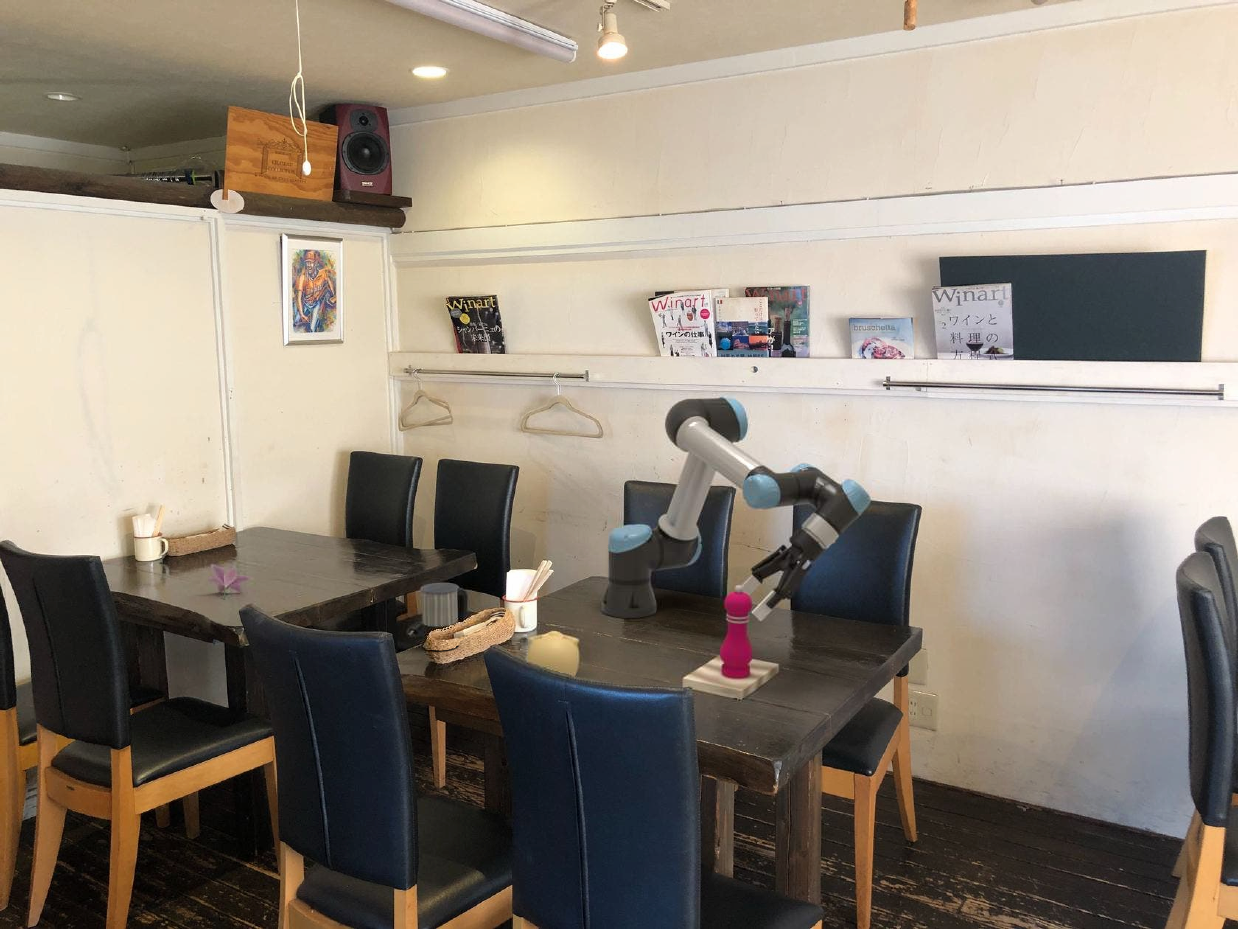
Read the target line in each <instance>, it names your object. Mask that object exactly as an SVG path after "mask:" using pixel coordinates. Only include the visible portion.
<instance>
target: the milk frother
mask: <svg viewBox="0 0 1238 929" xmlns="http://www.w3.org/2000/svg"><path fill="white" fill-rule="evenodd" d="M419 588H420V589H419V590H420V592H421V618H422V620H420V621H417V622H416V623H413V624H412V625H410V626H409V627H408V628H406V629H407V630H406V636H407V637H409V638H410V639H412V640H422V643H421V648H422V649H423V648H424V647H423V645H424V643H425V642H426V639H427V636H428V635H429V633H430V632H431V631H434V630H436V629H443V628H446V627H449V626H450V625H454V624H456V623H458V622H463V621H464V620H466V619H467V620H468V600H469V599H468V598H469V596H468V593H467V591H466V590H465V589H464V588H462V587H460V586H459V585H457V584H456V583H450V582H436V583H435V582H434V583H433V582H432V583H428V584H423V586H421V587H419ZM454 626H455V625H454ZM450 628H452V627H450ZM447 629H449V628H447ZM444 630H446V629H444ZM421 631H422V634H420V633H421ZM441 631H442V630H441Z"/></svg>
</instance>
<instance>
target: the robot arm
mask: <svg viewBox="0 0 1238 929" xmlns="http://www.w3.org/2000/svg"><path fill="white" fill-rule="evenodd" d="M748 419H749V418H748V416H747V411H746V409H745V408H744V406H743V405H742V403H741V402H740V401H739V400H738V399H735V398H732V397H723V396H720V397H714V398H712V397H711V398H708V397H707V398H685V399H682V400H680V401H678V402H676V403H674V404H673V405H672V406H671V408H670V409H669V411H668V412H667V414H666V417H665V420H664V421H665V422H664V429H665V433H666V436H667V437H668V439H669V440H670V442H671V443H672V444H673V445H674V446H675V447H677V448H678V449H679V450H681V451H682V452H683V453H684V452H685V453H687V456H686V459H685V463H684V465H683V466H682V467H683V468H682V470H681V473H680V475H679V478H678V482H677V484H676V487H675V489H674V493H673V496H672V499H671V502H670V504H669V506H668V510H667V512H666V513H665V514H662V515H661V516H660V517H659V519H658V521H657V524H656V527H655V528H651V527H650V525H647V524H640V523H637V524H626V525H623V526H619V527H616V528H614V529H613V530H611V532H610V533H609V536H608V545H607V550H608V579H607V580H608V583H607V586H606V589H605V593H604V595H603V598H602V602H601V612H602V613H604V614H605V615H607V616H610V617H614V618H623V619H638V618H639V619H640V618H645V617H650V616H653V615H655V614H656V612H657V601H656V598H655V594H654V590H653V587H652V584H651V579H652V578H651V576H652V574H651V573H652V572H655V571H662V570H670V569H680V568H684V567H688V566H691V565H692V564H694V563H695V562H696V561H697V560H698V559H699V557H700V555H701V552H702V547H703V545H702V544H701V542H702V536H701V533H700V530H699V527H698V525H697V522H698V521H699V517H700V515H701V512H702V510H703V506H704V504H705V501H706V499H707V496H708V493H709V491H710V489H711V485H712V482H713V480H714V479H715V478H714V477H715V475H716V473H719V474H720V475H722V476H723V477H724V478H725V479H727V480H728V481H729V482H731V483H732V484H734V485H735V486H736V487H738V489H740V490H742V496H743V499H744V500H745V502H746V505H747V506H748V507H750V508H751V509H753V510H755V509H756V510H760V509H762V510H769V509H775V508H782V507H789V506H790V507H792V506H801V505H810V506H811V507H813V508H814V509H816V510H815V511H814V512H813V513H812V514H811V515H810V516H809V517H808V518H807V519H806V520H805V521H804V522H803V523H802V524H801V527H802V528H798V529H796V531H795V532H794V533H793V534H792V535H791V536H790V537H789V539H788V542H789V543H790V544H791V545H790V547H787V546H786V545H785V544H782V545H780V547H779V548H777V550H776V551H774V552H773V553H770V555H768V556H767V557H766V558H764V559H762V560H761V561H760V562H758V563H756V564H755V565H753V567H751V569H750V570H751V571H752V572H751V575H750V576H749V577H748V578H747V579H746V580H745V581H744V582H743V583H742V584H740V585H741V586H742V587H743V591H742V592H744V593H746V594H748V595H749V596H750V595H751V594H752V593H753V592H755V590H756V589H757V588H758V587H759V586H760V585H761V584H763V582H764V579H768V578H769V577H771V576H773V575H774V574H776V573H778V572H780V571H781V572H782V574H781V577H780V579H779V581H778V584H777V586H776V587H774V588H772V590H771V591H770V592H769V593H768V594H767V595H766V596H765V598H764V599H763V600H762V601H761V602H759V604H758V605H757V606H756V607H755V608H754V609H753V610H752V611H751V614H752V615H753V616H755V617H756V618H757V619H758V621H759V622H762V621H764V619H765V618H766V617H767V616H768V615H769V613H771V611H773V610H774V608H776V606H778V604H780V602H781V601H783V600H785V599H787V600H789V601H790V600H791V599H792V598H793V596H794V594H795V593H796V591H797V589H798V588H799V586H800V585H801V583H802V581H803V579H805V576H806V575H807V573H808V572H809V571H810V570H811V568H813V564H812V563H815V562H816V561H817V560H818V559H819V558H820V557H821V556H822V555H823V554H824V552H825V550H824V549H826V550H827V549H829V547H831V545H832V544H835V543H836V540H837V539H838V538H839V537H840V536H841V535H842V534H843V532H844V531H845V530H846V529H848V528H849V526H850V525H851V524H853V522H855V521H856V520H857V519H858V518H859V517H860V516H862V514H863V513H864V511H865V510H866V509H867V508H868V506H869V505H870V503H871V501H872V499H871V496H870V495H869V493H868V492H867V491H866V489H864V487H862V486H861V485H860V484H859V483H857V482H856V481H855V480H854V479H850V478H847V479H845V480H844V481H843V482H841V483H839V482H837V481H836V480H834V479H833V478H831V477H830V476H829V475H827V474H825V473H824V472H823V471H822V470H821V469H819V468H817V467H816V466H814V465H811V464H810V463H805V462H802V463H799V464H798V465H796V466H794V467H793V468H792V469H791V470H790V471H789V472H779V473H778V472H774V471H773V470H772V469H770V468H769V467H767V466H766V465H764V464H763V463H761V462H760V461H759V460H757V459H756V458H754V457H753V456H751V455H750V454H749V453H747V452H746V451H744V450H742V449H741V448H740V447H738V446H737V445H736V444H734V443H738V442H740V441H743V440H744V439H745V438H746V436H747V434H748V429H749V422H748Z"/></svg>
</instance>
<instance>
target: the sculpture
mask: <svg viewBox="0 0 1238 929" xmlns="http://www.w3.org/2000/svg"><path fill="white" fill-rule="evenodd" d="M528 642H529V647H528V649H527V650H528V651H527V654H526V655H527V656H526V663H527V662H531V663H533V664H537V665H539V666H541V667H546V668H547V669H550V670H554V671H558V672H560V673H566V674H569V675H572V676H574V677H575V676H576V674H577V672H578V670H579V663H580V651H579V647H578V644H579V643H580V640H579V639H578V638H577V637H573V636H569V635H566V634H565V635H564V633H561V632H560V631H556V630H552V631H549V632H547V633H544V634H538V635H536V636H531V637H529V638H528Z"/></svg>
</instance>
